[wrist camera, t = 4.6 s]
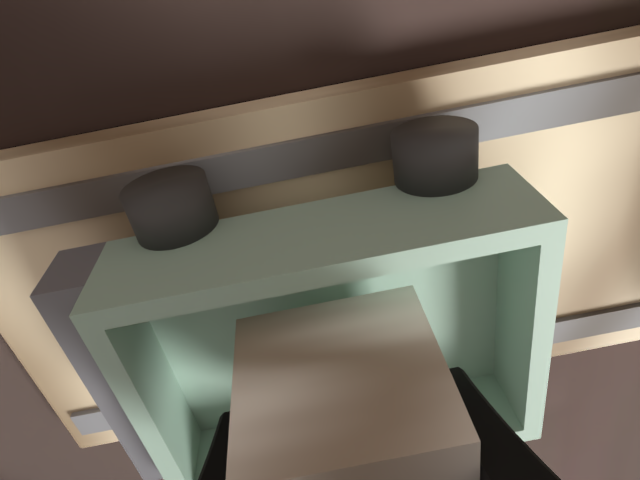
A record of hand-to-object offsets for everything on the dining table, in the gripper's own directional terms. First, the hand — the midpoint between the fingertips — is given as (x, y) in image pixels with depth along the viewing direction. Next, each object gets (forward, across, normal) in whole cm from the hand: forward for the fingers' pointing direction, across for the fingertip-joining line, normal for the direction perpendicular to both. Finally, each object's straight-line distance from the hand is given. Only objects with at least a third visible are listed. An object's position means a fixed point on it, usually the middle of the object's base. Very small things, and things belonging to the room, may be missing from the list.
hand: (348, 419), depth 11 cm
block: (+2, 0, 0) cm, 2 cm away
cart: (+5, +1, 0) cm, 5 cm away
